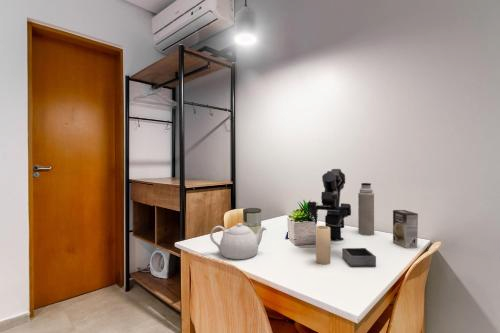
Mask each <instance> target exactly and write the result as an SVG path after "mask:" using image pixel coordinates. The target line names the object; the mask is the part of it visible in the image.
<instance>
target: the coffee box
mask: <svg viewBox="0 0 500 333" xmlns="http://www.w3.org/2000/svg"><path fill="white" fill-rule="evenodd" d="M418 224H419V214H418V213H416V212H414V211H413V212H412V211H410V210H405V209H393V210H392V226H393V227H392V242H393V243H394V244H396V245H398V246H400V247H402V248H404V249H412V248H413V249H415V248H416V249H417V248H418V236H419V235H418V232H419V230H418V229H419V228H418V227H419V226H418Z"/></svg>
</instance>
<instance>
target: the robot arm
mask: <svg viewBox="0 0 500 333" xmlns="http://www.w3.org/2000/svg"><path fill="white" fill-rule="evenodd" d="M321 178H322V184H323V187H324V191H322V192H321V197H320V198H321V204H317V201H308V202H306V207H307V208H306V209H307V212H308V213H309V214H311V215H313V218H314V223H315V225H317V224H318V215H319V214H318V210H319V211H321V210H322V211H326V215H324V216H325V217H324V224H325V225H324V226H328V227H330V241H340V240H344V237H342V231H341V229H344V228H345V218H348V216H349V217H350V216H352V207H351V204H350V203H341V202H340V201H341V191H342V190H343V189H344V188H345V184H346V175H345V173H343V172H342V170H341V168H332V169H331V170H327V171H326V172H325V173H324V174H322V177H321Z"/></svg>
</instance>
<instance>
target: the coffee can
mask: <svg viewBox="0 0 500 333" xmlns="http://www.w3.org/2000/svg"><path fill="white" fill-rule="evenodd" d="M242 216H243V217H242V220H243V223H242V225H243V226H247V227H249V228H250V229H251V230H252V231H253V233H254V234H255V235H256V234H257V232H258V230H259V229H260V228H261V227H262V209H261V208H257V207H248V208H247V207H246V208H244V209H242Z"/></svg>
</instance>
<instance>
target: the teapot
mask: <svg viewBox="0 0 500 333" xmlns="http://www.w3.org/2000/svg"><path fill="white" fill-rule="evenodd" d="M216 229H221V230H222V231H223V232H222V236H221V239H220V243H218V242H217V241H216V240H215V239H214V237H213V234H214V232H215V230H216ZM264 231H267V228H266V227H265V226H261V228H260V229H259V230H258V232H257V234H256V235H255V234H254V233H253V231H252V230H251V229H250V228H249V227H247V226H243V223H242V222H238V223H236V225H233V226H231V227H230V228H227V229H225V227H224V226H222V225H216V226H214V227H213V228H212V229H211V231H210V234H209V238H210V241H211V242H212V243H213V244H214V245H215V246H216V247H217V248H218V250H219V251H220V254H221V256H223V257H224V258H227V259H229V258H230V259H231V260H247V259H251V258H253V257H255V256H256V255H257V254H258V251H259V246H260V245H261V241H262V237H263V232H264Z"/></svg>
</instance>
